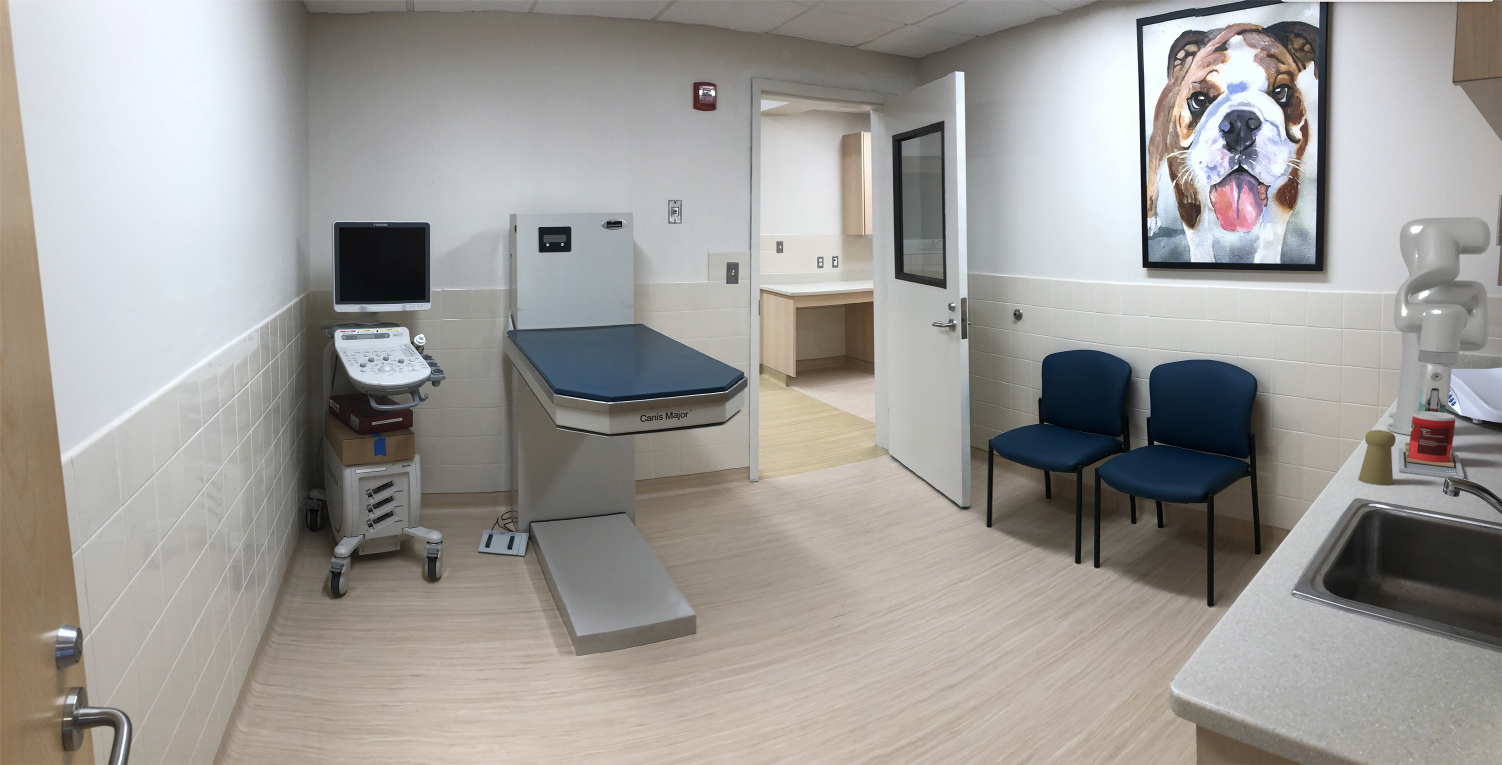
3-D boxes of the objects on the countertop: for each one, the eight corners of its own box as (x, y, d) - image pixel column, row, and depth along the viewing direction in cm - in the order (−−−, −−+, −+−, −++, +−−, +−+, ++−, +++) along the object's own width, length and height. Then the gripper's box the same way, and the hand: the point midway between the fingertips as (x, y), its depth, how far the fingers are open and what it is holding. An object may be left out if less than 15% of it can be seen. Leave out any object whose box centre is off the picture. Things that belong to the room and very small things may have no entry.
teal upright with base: (1453, 467, 191) (1461, 405, 189) (1406, 461, 196) (1413, 401, 194) (1449, 448, 208) (1456, 391, 205) (1405, 443, 213) (1411, 388, 210)
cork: (1381, 486, 179) (1387, 435, 177) (1351, 479, 184) (1357, 429, 182) (1399, 483, 181) (1405, 432, 179) (1369, 476, 187) (1375, 426, 185)
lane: (1463, 479, 183) (1464, 475, 183) (1399, 472, 189) (1399, 468, 189) (1457, 458, 200) (1457, 454, 200) (1398, 451, 207) (1399, 448, 207)
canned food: (1429, 456, 201) (1435, 410, 199) (1459, 465, 193) (1465, 417, 191) (1398, 457, 201) (1403, 411, 199) (1427, 466, 193) (1433, 418, 191)
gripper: (1460, 363, 197) (1450, 441, 200) (1456, 355, 210) (1446, 428, 213) (1419, 361, 201) (1409, 437, 204) (1417, 353, 214) (1408, 425, 217)
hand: (1428, 432), depth 208 cm, fingers open, 3 cm apart
